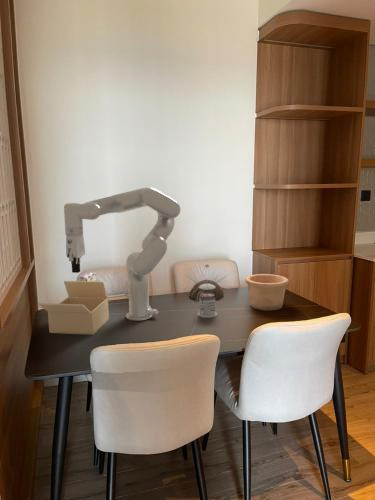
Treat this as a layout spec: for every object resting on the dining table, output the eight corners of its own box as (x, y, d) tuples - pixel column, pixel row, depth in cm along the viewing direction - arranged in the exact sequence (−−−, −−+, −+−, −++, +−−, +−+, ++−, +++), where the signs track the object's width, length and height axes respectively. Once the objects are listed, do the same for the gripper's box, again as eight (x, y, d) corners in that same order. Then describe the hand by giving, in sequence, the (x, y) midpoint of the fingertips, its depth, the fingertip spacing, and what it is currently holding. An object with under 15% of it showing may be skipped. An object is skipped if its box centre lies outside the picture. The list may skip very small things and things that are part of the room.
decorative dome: (230, 295, 218) (230, 278, 217) (211, 304, 203) (211, 286, 201) (202, 290, 230) (202, 274, 228) (182, 298, 214) (182, 281, 213)
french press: (221, 313, 187) (221, 263, 183) (206, 319, 179) (205, 268, 174) (206, 309, 194) (205, 261, 189) (190, 315, 185) (190, 265, 181)
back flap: (107, 298, 181) (107, 297, 181) (103, 282, 175) (103, 281, 176) (68, 297, 183) (69, 296, 184) (63, 281, 178) (64, 280, 178)
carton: (109, 318, 183) (107, 298, 181) (93, 334, 163) (92, 312, 161) (69, 317, 185) (68, 297, 184) (49, 332, 166) (47, 310, 164)
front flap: (82, 304, 153) (82, 305, 152) (91, 312, 161) (90, 313, 161) (37, 303, 155) (37, 304, 155) (48, 310, 164) (48, 311, 164)
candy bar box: (89, 301, 210) (87, 272, 208) (98, 301, 209) (96, 272, 207) (80, 307, 200) (78, 277, 197) (88, 308, 199) (86, 277, 196)
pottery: (281, 314, 184) (281, 286, 182) (238, 308, 195) (238, 281, 192) (292, 302, 203) (293, 276, 200) (253, 297, 213) (253, 272, 211)
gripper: (75, 233, 159) (77, 276, 162) (88, 229, 174) (90, 269, 177) (58, 233, 160) (60, 275, 163) (73, 229, 175) (75, 268, 178)
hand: (76, 272), depth 170 cm, fingers closed
